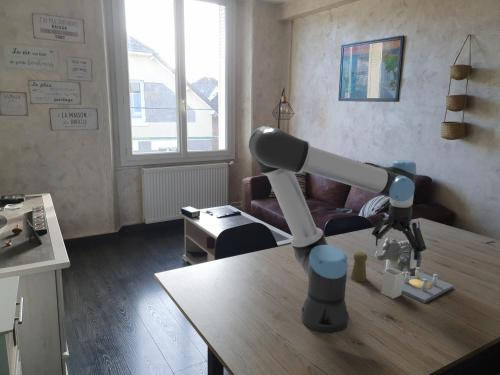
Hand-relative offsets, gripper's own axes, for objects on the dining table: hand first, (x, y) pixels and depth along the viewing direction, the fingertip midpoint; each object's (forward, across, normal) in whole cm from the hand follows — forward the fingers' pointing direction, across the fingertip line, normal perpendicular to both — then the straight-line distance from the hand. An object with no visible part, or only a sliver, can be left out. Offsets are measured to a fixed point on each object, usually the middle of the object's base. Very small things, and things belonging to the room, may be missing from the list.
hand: (395, 261), depth 135 cm
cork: (+13, +15, 0) cm, 20 cm away
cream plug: (+13, 0, 0) cm, 13 cm away
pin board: (+13, -3, -14) cm, 19 cm away
